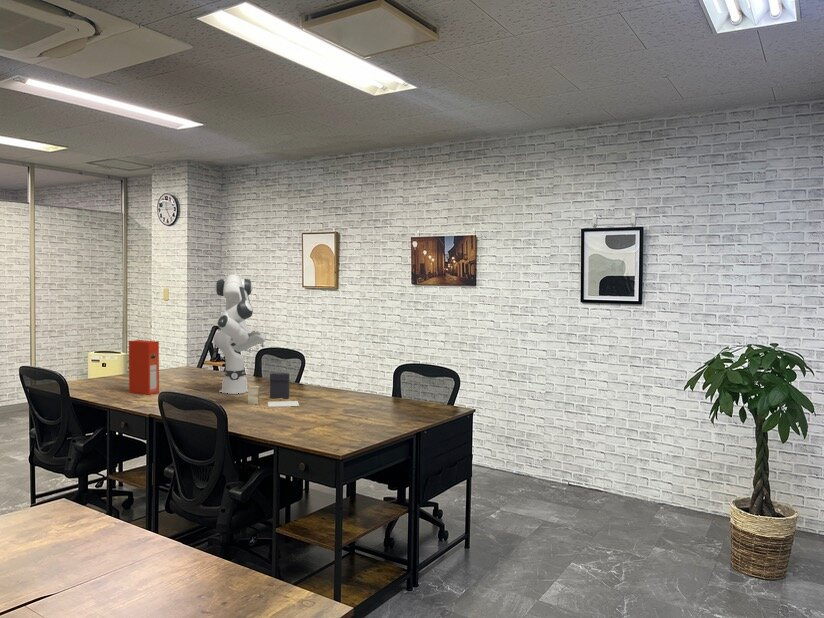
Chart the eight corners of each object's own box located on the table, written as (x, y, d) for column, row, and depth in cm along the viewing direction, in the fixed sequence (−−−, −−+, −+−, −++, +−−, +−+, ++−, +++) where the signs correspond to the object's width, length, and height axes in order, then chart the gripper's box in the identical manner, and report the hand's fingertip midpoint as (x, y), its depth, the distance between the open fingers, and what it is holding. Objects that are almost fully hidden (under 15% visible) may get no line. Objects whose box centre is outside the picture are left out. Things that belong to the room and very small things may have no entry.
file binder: (148, 395, 384) (148, 342, 382) (128, 392, 392) (128, 340, 390) (159, 393, 391) (159, 341, 389) (139, 390, 399) (139, 339, 397)
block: (248, 403, 364) (248, 386, 364) (259, 403, 366) (259, 386, 365) (248, 405, 360) (248, 387, 359) (259, 405, 361) (259, 387, 361)
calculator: (289, 397, 384) (289, 373, 384) (287, 399, 380) (287, 374, 379) (271, 397, 385) (272, 372, 385) (269, 398, 381) (269, 373, 380)
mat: (267, 402, 368) (267, 401, 368) (297, 401, 372) (297, 400, 372) (268, 407, 355) (268, 406, 355) (299, 406, 359) (299, 405, 359)
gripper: (256, 325, 356) (272, 338, 365) (228, 337, 363) (244, 350, 372) (255, 334, 352) (271, 347, 361) (227, 346, 359) (243, 358, 368)
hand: (257, 348), depth 366 cm, fingers open, 8 cm apart
